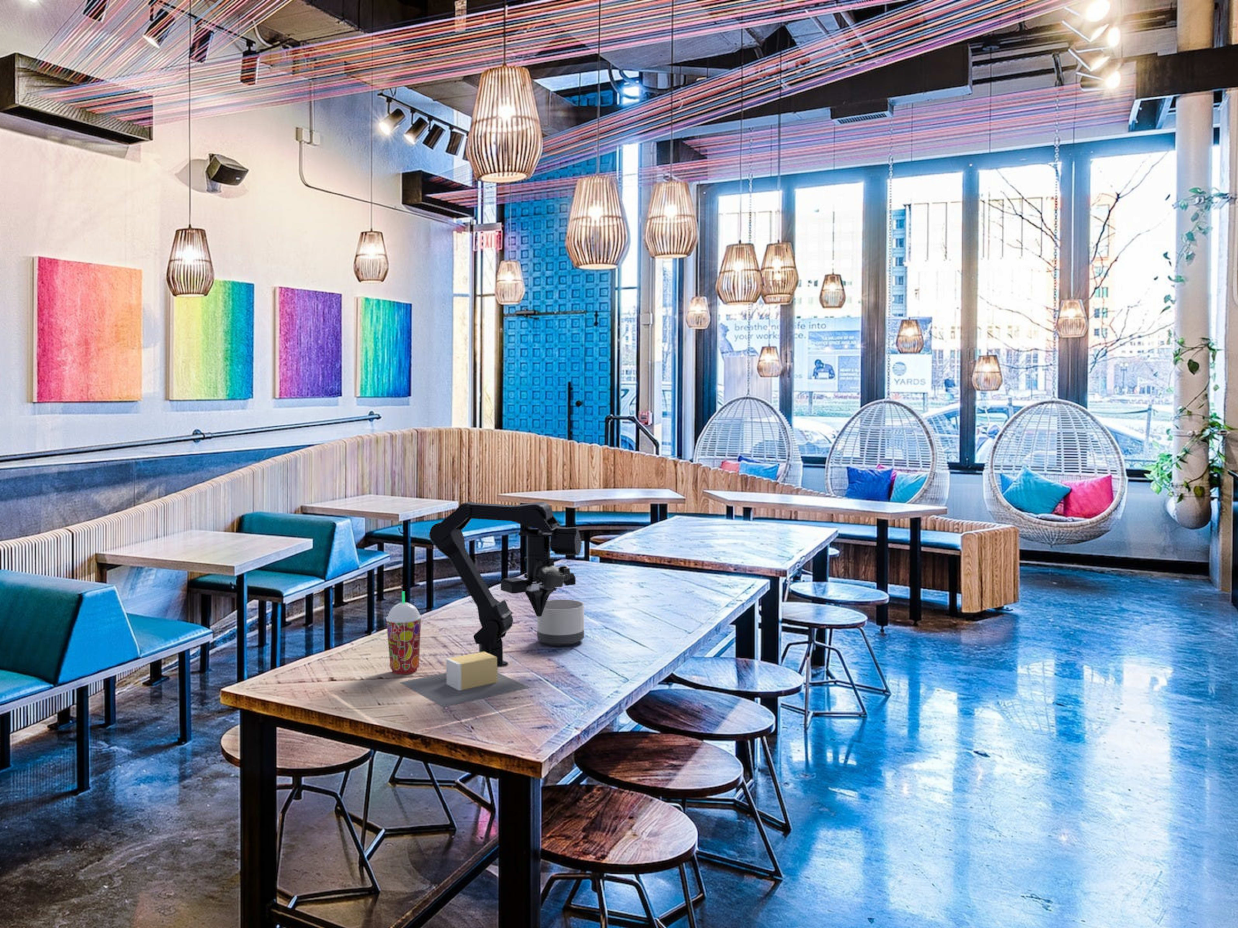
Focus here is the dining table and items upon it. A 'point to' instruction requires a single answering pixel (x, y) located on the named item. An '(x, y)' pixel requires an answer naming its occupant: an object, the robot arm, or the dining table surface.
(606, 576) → the dining table surface
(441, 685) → the charcoal mat
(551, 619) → the planter
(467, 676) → the pale yellow block
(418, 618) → the smoothie
